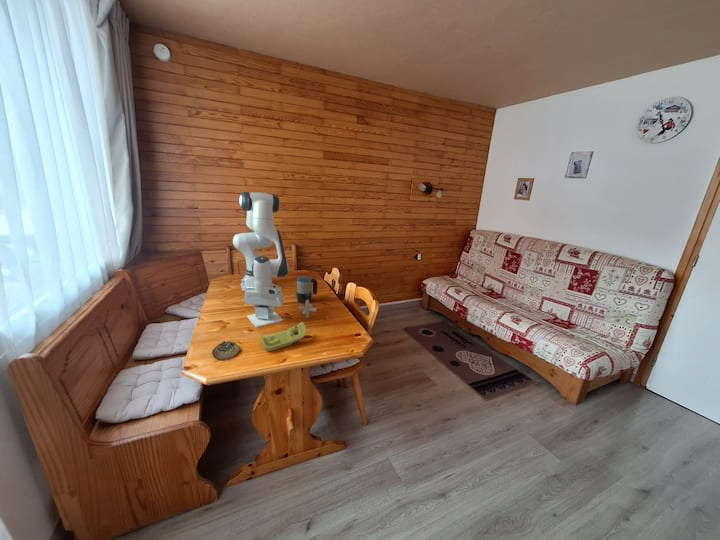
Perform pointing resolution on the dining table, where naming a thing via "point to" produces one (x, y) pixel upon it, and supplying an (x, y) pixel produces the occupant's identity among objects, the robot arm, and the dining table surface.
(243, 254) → the robot arm
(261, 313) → the sleeve
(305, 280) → the milk frother
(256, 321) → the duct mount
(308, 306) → the pipe connector
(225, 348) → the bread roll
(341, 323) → the dining table surface
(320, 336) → the dining table surface
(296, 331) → the plastic component
